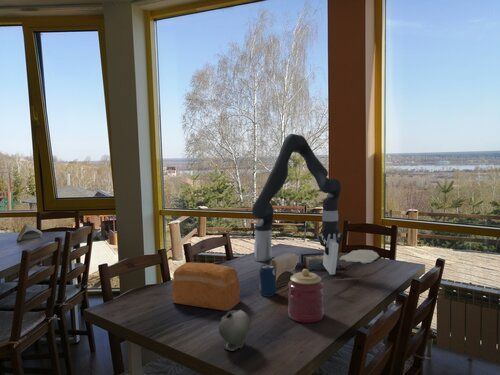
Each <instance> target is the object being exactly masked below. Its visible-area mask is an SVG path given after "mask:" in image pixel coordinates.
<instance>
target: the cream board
mask: <svg viewBox="0 0 500 375" xmlns="http://www.w3.org/2000/svg"><path fill="white" fill-rule="evenodd" d="M336 241H337V240H336ZM336 241H335V240H334V239H330V240H329V246H328V248H329V255H326V254H325V247H324V248H323V250H324V251H323V252H324V257H323V265H324V267H325V268H326V269H325V270H326V271H327V272H328V273H329V275H330V276H331V275H332V276H333V275H336V269H337V268H336V263H337V258H338V253H339V246H340V245H339V244H338V243H337V242H336ZM338 245H339V246H338Z"/></svg>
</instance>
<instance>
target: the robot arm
mask: <svg viewBox="0 0 500 375" xmlns="http://www.w3.org/2000/svg"><path fill="white" fill-rule="evenodd" d="M293 153H297V154H299V155H300V156H301V157H302V158H303V159H304V162H305V165H306V168H307V170H308V171H309V173H310V174H311V175H312V177H313V178H314V179H315V181H316V184H317V186H318V189H319V190H320V191H321V192H323V193H325V194H327V196H326V197H324V199H323V201H322V224H321V225H322V227H321V228H322V230H321V233H319V234H317V235H316V238H317V240H318V241H319V244H320V246H322V247H324V248H325V254H326V255H329V248H328V246H329V240H330V239H334V240H335V241H336V242H337V243H338V244H339V245H338V247H339V246H340V245H341V242H342V240H343V238H344V233H343V234H342V233H340V232H339V213H338V211H339V206H338V202H339V198H340V194H341V191H342V185H341V184H342V183H341V181H340V180H339V179H338V178H335V177H332V178H328V175H329V174H328V173H329V172H328V170H327V168H326V167H325V166H324V165H323V163H321V161H320V160H319V158H318V157H317V156H316V155H315V153H314V151H313V150H312V148H311V147H310V145H309V143H308V141H307V140H306V138H305V137H304V136H303V135H299V134H295V133H289V134H287V135H286V136H285V138H284V139H283V142H282V145H281V147H280V150H279V153H278V156H277V158H276V160H275V161H274V162H275V163H274V165H273V167H272V169H271V170H270V173H269V175H268V176H267V180H266V182H265V184H264V185H263V188H262V190H261V192H260V194H259V196H258V197H257V198H256V200H255V202H254V203H253V205H252V207H251V208H252V209H251V213H252V216H253V217H254V218H255V219H258V220H257V222H256V224H255V226H254V239H255V240H254V243H253V244H254V260H255V261H256V262H268V261H272V260H271V259H273V258H272V257H273V256H272V252H273V251H272V227H273V222H274V208H273V205H272V203H271V202H272V199H273V198H275V196H276V195H277V193H278V192H280V190H281V189H282V188H283V186H284V185H285V183H286V181H287V179H288V176H289V162H290V159H291V157H292V155H293ZM323 238H324V240H323Z"/></svg>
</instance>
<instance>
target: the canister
mask: <svg viewBox="0 0 500 375" xmlns="http://www.w3.org/2000/svg"><path fill="white" fill-rule="evenodd" d="M289 280H290V281H289V282H288V283H287V287H288V289H289V290H288V292H287V295H288V307H287V313H288V318H290V319H291V320H293V321H295V322H299V323H308V324H309V323H315V322H316V323H317V322H319V321H321V320H322V319H323V317H324V313H325V312H324V296H325V294H324V292H323V288H324V283H323V282H321V281H322V277H321V276H319V275H318V274H317V273H314V272H310V270H308V269H307V268H303V269H302V271H299V272H296V273H294V274H293V275H291V276H290V278H289Z"/></svg>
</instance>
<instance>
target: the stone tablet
mask: <svg viewBox="0 0 500 375" xmlns="http://www.w3.org/2000/svg"><path fill="white" fill-rule="evenodd" d="M379 258H380V255H379V254H378V252H376V251H375V250H372V249H357V250H351V251H350V252H349V253H347V254H343V255H342V256H340V257H339V261H345V262H351V263H352V262H355V263H358V262H360V263H362V264H363V265H366V264H371V263H373V262H374V260H375V261H376V260H377V259H379Z"/></svg>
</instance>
